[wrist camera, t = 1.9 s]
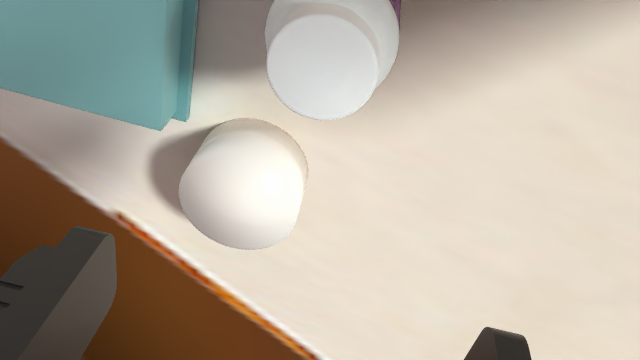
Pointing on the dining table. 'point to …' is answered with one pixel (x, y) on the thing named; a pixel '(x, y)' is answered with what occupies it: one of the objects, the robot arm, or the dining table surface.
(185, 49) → the podium
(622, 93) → the dining table surface
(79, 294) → the robot arm
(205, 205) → the white rounded puck
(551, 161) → the dining table surface
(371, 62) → the pill bottle
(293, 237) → the dining table surface
